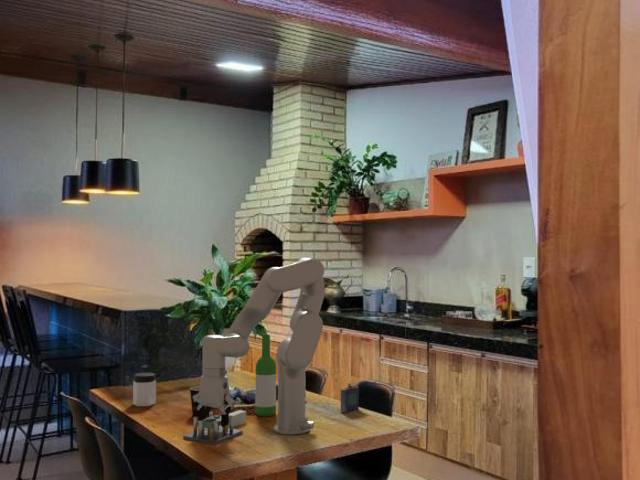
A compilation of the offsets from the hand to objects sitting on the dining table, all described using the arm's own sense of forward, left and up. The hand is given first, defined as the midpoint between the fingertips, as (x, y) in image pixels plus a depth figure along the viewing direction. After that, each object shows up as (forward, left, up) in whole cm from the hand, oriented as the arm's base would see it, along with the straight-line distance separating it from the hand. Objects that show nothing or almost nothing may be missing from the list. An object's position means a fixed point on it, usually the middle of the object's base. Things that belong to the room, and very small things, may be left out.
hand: (213, 423), depth 214 cm
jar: (+52, -20, -4) cm, 57 cm away
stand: (+2, -15, -4) cm, 16 cm away
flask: (-23, -54, -4) cm, 59 cm away
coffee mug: (+20, -19, -4) cm, 29 cm away
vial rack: (0, 0, -4) cm, 4 cm away
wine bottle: (+1, -32, -4) cm, 33 cm away
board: (0, 0, 0) cm, 0 cm away
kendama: (+10, -60, -5) cm, 61 cm away
